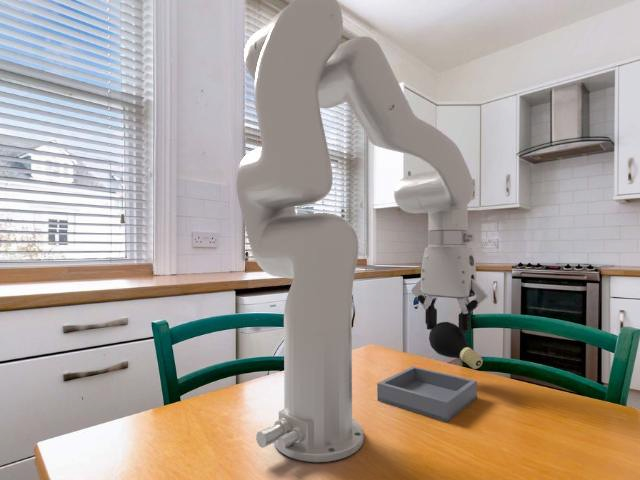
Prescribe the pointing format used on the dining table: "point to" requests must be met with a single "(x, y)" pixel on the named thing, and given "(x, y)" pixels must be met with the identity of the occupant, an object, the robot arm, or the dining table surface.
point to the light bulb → (453, 344)
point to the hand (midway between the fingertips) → (447, 330)
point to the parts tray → (428, 392)
